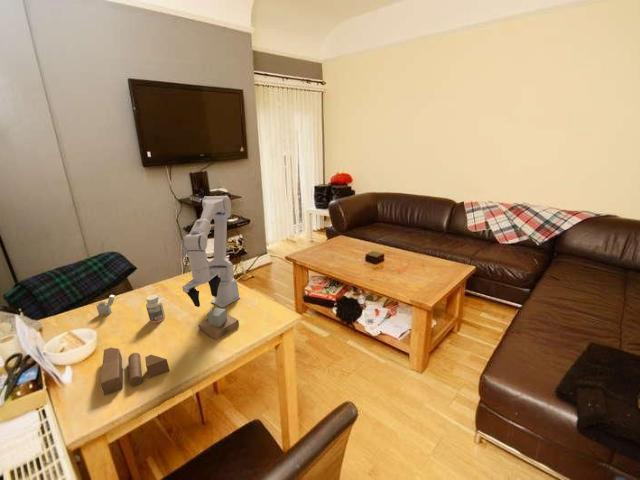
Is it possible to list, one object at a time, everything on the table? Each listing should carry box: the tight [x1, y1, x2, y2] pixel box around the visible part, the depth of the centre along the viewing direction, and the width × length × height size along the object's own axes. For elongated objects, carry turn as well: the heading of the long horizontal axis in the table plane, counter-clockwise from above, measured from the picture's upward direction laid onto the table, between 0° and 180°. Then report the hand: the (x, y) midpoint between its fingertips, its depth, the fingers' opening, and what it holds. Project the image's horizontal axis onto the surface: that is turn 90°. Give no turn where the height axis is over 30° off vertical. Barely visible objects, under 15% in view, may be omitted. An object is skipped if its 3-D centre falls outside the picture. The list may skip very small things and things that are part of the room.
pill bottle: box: [145, 294, 166, 324], centre depth 121 cm, size 5×5×10 cm
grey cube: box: [206, 306, 227, 327], centre depth 114 cm, size 4×4×4 cm
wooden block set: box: [99, 347, 170, 396], centre depth 98 cm, size 17×6×18 cm
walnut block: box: [198, 313, 240, 341], centre depth 115 cm, size 10×10×3 cm
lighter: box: [96, 294, 116, 316], centre depth 127 cm, size 7×2×8 cm, turn 98°
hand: (206, 300), depth 115 cm, fingers open, 7 cm apart
